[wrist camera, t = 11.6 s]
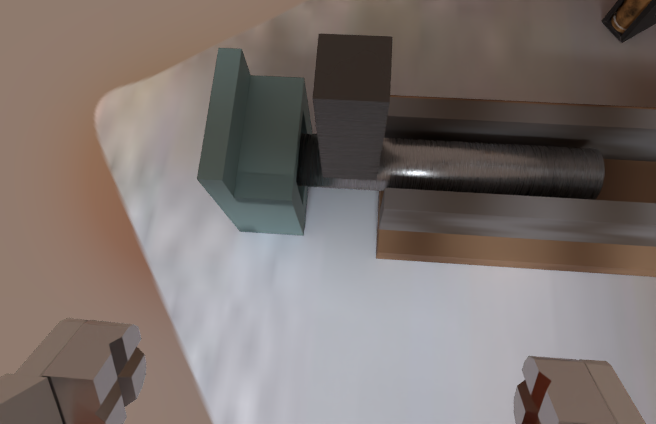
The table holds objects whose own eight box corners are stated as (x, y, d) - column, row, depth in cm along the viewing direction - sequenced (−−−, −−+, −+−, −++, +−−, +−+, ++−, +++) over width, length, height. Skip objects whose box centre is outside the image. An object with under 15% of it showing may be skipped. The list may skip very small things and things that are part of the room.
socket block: (312, 135, 28) (300, 51, 20) (303, 235, 26) (285, 184, 19) (253, 132, 28) (218, 48, 21) (240, 231, 26) (196, 179, 19)
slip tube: (575, 160, 25) (707, 46, 16) (579, 210, 24) (720, 120, 15) (268, 144, 26) (225, 27, 17) (262, 192, 25) (214, 96, 16)
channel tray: (774, 127, 27) (866, 77, 22) (809, 287, 24) (921, 269, 20) (383, 108, 28) (390, 57, 24) (376, 258, 26) (382, 234, 21)
